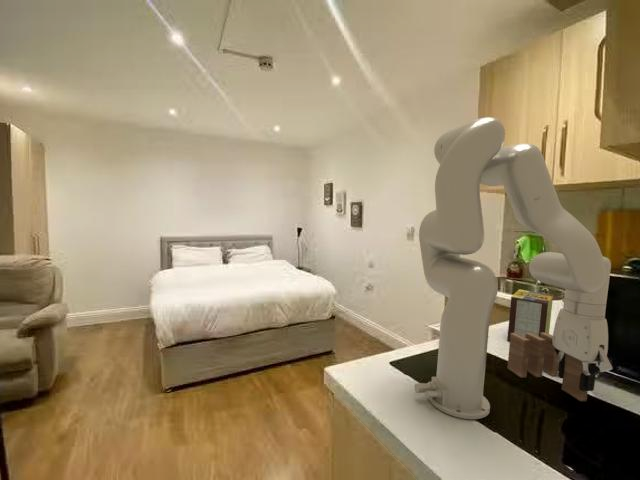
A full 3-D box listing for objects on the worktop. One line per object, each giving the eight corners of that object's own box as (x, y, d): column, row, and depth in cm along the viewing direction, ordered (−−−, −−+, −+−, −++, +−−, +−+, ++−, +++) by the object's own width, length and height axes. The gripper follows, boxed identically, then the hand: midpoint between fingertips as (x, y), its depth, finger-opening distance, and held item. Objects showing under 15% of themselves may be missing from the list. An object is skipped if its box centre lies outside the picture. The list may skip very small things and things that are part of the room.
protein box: (548, 337, 115) (553, 294, 113) (543, 351, 103) (548, 302, 102) (514, 329, 121) (518, 288, 120) (506, 341, 110) (510, 295, 108)
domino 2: (536, 377, 85) (540, 340, 85) (522, 368, 90) (525, 332, 90) (541, 377, 86) (545, 339, 85) (527, 367, 91) (531, 332, 90)
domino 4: (580, 401, 75) (585, 359, 74) (561, 389, 80) (566, 349, 79) (586, 400, 75) (591, 358, 74) (567, 389, 80) (571, 349, 79)
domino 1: (520, 377, 85) (524, 340, 84) (507, 368, 90) (510, 332, 89) (526, 377, 85) (530, 340, 84) (512, 368, 90) (516, 332, 89)
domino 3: (551, 376, 86) (555, 339, 85) (536, 367, 91) (540, 332, 90) (557, 376, 86) (561, 339, 85) (541, 367, 91) (545, 332, 90)
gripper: (539, 298, 83) (532, 367, 85) (606, 320, 67) (596, 405, 68) (565, 298, 84) (558, 366, 86) (638, 320, 68) (627, 404, 69)
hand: (575, 383), depth 77 cm, fingers closed on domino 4, 4 cm apart
